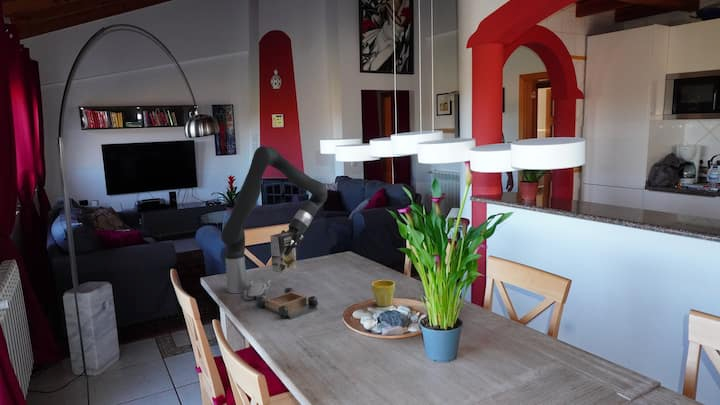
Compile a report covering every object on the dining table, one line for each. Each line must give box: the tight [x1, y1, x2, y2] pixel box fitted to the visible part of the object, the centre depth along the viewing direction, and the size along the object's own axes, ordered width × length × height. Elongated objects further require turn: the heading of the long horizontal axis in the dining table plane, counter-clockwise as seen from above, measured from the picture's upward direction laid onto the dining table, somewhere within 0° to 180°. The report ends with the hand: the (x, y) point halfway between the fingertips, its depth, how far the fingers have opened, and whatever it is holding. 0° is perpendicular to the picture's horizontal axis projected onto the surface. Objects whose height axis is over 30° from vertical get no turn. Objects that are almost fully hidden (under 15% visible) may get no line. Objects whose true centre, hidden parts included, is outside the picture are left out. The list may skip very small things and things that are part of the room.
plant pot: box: [371, 279, 396, 308], centre depth 222 cm, size 10×10×10 cm
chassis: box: [255, 286, 319, 320], centre depth 223 cm, size 26×17×5 cm, turn 43°
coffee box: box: [269, 231, 297, 274], centre depth 220 cm, size 9×6×16 cm
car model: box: [243, 279, 272, 301], centre depth 244 cm, size 11×24×5 cm, turn 3°
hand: (280, 252), depth 219 cm, fingers closed on coffee box, 7 cm apart
